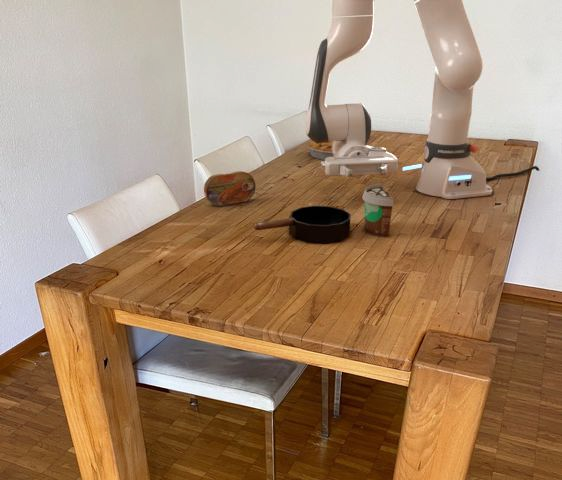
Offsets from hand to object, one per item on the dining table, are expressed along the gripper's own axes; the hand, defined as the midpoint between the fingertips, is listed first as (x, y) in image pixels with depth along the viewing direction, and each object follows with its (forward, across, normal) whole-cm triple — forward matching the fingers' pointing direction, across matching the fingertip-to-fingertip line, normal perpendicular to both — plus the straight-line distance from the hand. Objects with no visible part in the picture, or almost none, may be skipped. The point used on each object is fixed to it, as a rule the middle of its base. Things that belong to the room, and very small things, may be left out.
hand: (367, 173), depth 155 cm
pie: (-65, +6, +10) cm, 66 cm away
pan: (+16, -20, +10) cm, 28 cm away
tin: (-12, -36, +10) cm, 40 cm away
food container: (+14, -2, +11) cm, 18 cm away
